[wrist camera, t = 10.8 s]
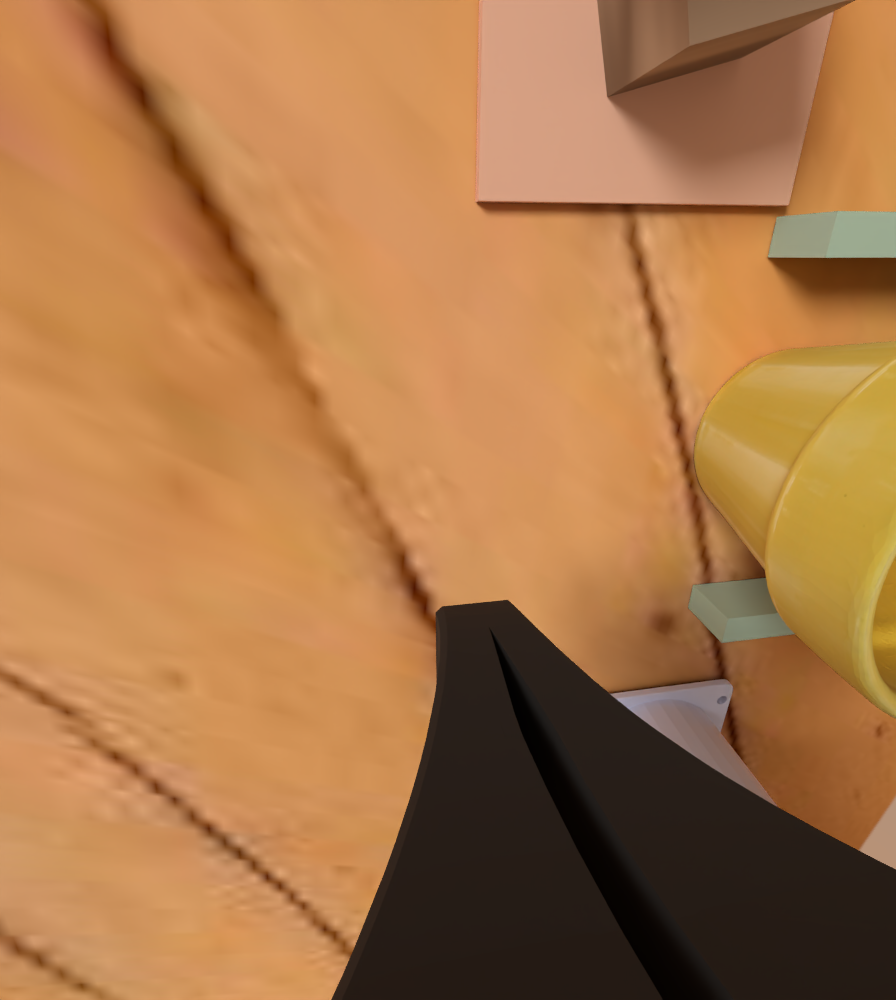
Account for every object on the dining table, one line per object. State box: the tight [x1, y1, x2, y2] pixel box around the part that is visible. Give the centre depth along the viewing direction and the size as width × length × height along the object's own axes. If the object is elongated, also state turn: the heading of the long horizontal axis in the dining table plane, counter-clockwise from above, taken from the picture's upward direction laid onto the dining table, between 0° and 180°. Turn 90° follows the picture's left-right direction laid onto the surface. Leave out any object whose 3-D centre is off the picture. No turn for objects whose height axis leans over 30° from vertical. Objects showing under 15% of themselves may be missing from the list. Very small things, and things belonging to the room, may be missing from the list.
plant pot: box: [694, 341, 896, 718], centre depth 16 cm, size 10×10×10 cm
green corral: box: [688, 211, 896, 643], centre depth 20 cm, size 15×10×2 cm, turn 0°
